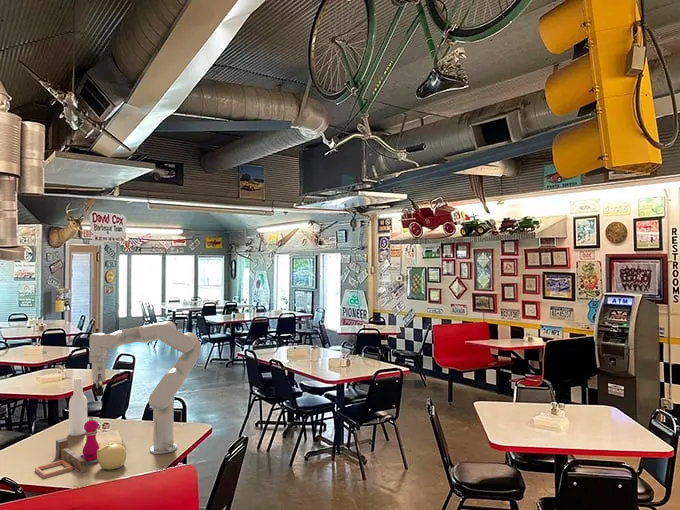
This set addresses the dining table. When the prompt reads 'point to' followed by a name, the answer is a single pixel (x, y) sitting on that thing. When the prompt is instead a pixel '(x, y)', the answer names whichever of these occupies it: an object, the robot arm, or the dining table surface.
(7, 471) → the dining table surface
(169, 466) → the dining table surface
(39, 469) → the collar
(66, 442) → the door edge board
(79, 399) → the alcohol
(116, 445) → the pale yellow round fruit
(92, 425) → the pepper mill
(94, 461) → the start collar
